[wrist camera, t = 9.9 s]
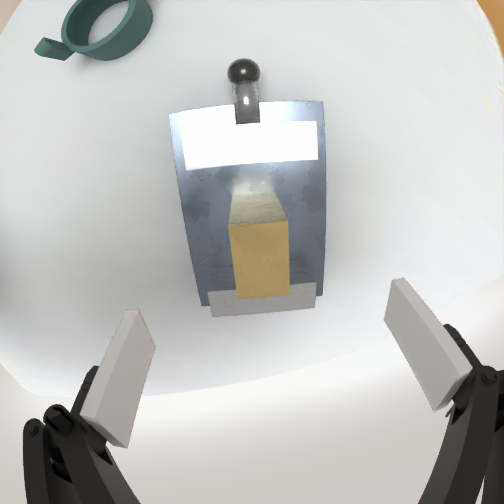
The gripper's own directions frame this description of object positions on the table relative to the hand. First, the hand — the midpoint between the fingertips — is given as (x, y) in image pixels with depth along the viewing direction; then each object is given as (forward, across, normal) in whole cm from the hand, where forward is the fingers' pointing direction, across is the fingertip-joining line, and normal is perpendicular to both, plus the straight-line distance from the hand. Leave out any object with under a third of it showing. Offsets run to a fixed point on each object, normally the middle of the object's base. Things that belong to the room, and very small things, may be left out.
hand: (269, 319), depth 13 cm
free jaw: (+14, 0, +10) cm, 18 cm away
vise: (+17, 0, +1) cm, 17 cm away
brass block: (+15, 0, 0) cm, 15 cm away
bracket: (+17, -12, +24) cm, 32 cm away
